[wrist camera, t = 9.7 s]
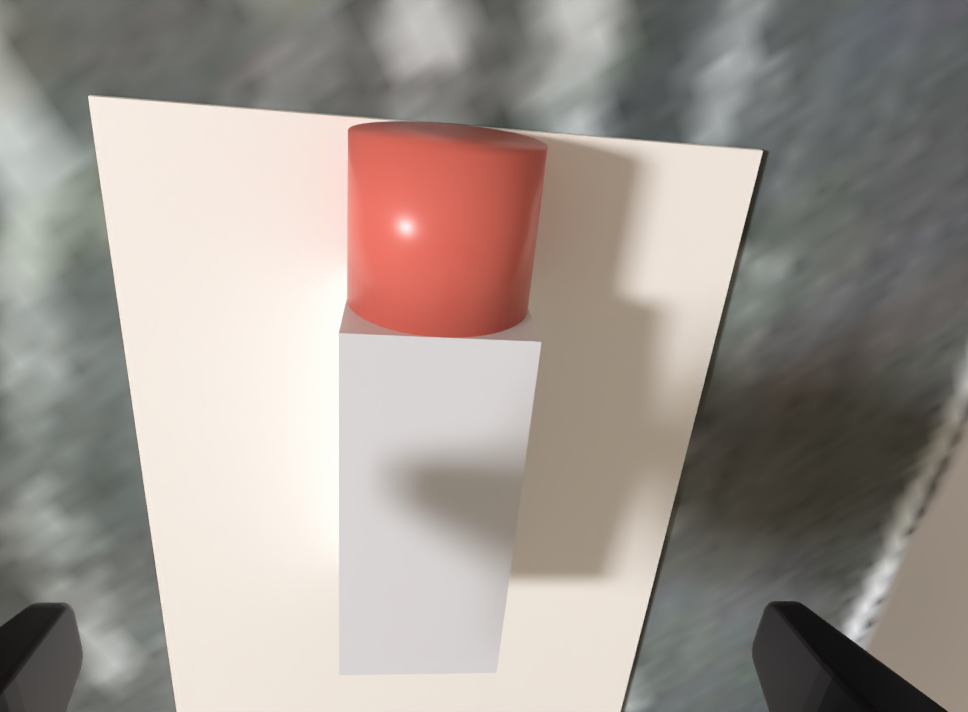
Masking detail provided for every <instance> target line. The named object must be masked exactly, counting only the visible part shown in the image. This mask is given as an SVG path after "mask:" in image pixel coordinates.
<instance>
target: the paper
mask: <svg viewBox="0 0 968 712" xmlns="http://www.w3.org/2000/svg"><path fill="white" fill-rule="evenodd" d="M88 99H89V106H90V113H91V120H92V127H93V134H94V141H95V148H96V155H97V162H98V169H99V176H100V183H101V189H102V196H103V203H104V210H105V217H106V224H107V231H108V238H109V245H110V252H111V259H112V266H113V273H114V280H115V287H116V293H117V300H118V307H119V314H120V321H121V328H122V335H123V342H124V349H125V356H126V363H127V370H128V377H129V384H130V391H131V397H132V404H133V411H134V418H135V425H136V432H137V439H138V446H139V453H140V460H141V467H142V474H143V481H144V488H145V495H146V501H147V508H148V515H149V522H150V529H151V536H152V543H153V550H154V557H155V564H156V571H157V578H158V585H159V592H160V599H161V605H162V612H163V619H164V626H165V633H166V640H167V647H168V654H169V661H170V668H171V675H172V682H173V689H174V696H175V703H176V709H177V712H621V708H622V704H623V700H624V696H625V692H626V688H627V684H628V680H629V676H630V672H631V668H632V664H633V661H634V657H635V653H636V649H637V645H638V641H639V637H640V633H641V629H642V625H643V621H644V617H645V613H646V609H647V605H648V602H649V598H650V594H651V590H652V586H653V582H654V578H655V574H656V570H657V566H658V562H659V558H660V554H661V550H662V546H663V543H664V539H665V535H666V531H667V527H668V523H669V519H670V515H671V511H672V507H673V503H674V499H675V495H676V491H677V487H678V483H679V480H680V476H681V472H682V468H683V464H684V460H685V456H686V452H687V448H688V444H689V440H690V436H691V432H692V428H693V424H694V421H695V417H696V413H697V409H698V405H699V401H700V397H701V393H702V389H703V385H704V381H705V377H706V373H707V369H708V365H709V362H710V358H711V354H712V350H713V346H714V342H715V338H716V334H717V330H718V326H719V322H720V318H721V314H722V310H723V306H724V302H725V299H726V295H727V291H728V287H729V283H730V279H731V275H732V271H733V267H734V263H735V259H736V255H737V251H738V247H739V243H740V240H741V236H742V232H743V228H744V224H745V220H746V216H747V212H748V208H749V204H750V200H751V196H752V192H753V188H754V184H755V181H756V177H757V173H758V169H759V165H760V161H761V157H762V153H763V151H762V150H760V149H751V148H739V147H727V146H715V145H702V144H690V143H678V142H666V141H653V140H641V139H629V138H617V137H604V136H592V135H580V134H568V133H555V132H543V131H531V130H519V129H506V128H494V127H484V128H490V129H497V130H502V131H507V132H512V133H517V134H521V135H525V136H529V137H532V138H535V139H538V140H540V141H542V142H544V143H545V144H547V146H548V151H547V159H546V167H545V175H544V183H543V191H542V199H541V207H540V215H539V223H538V231H537V239H536V247H535V255H534V264H533V272H532V280H531V288H530V296H529V304H528V309H529V312H530V314H531V317H532V319H533V322H534V324H535V327H536V329H537V332H538V334H539V337H540V339H541V349H540V357H539V364H538V371H537V379H536V386H535V394H534V401H533V408H532V416H531V423H530V430H529V438H528V445H527V452H526V460H525V467H524V475H523V482H522V489H521V497H520V504H519V511H518V519H517V526H516V533H515V541H514V548H513V555H512V563H511V570H510V578H509V585H508V592H507V600H506V607H505V614H504V622H503V629H502V636H501V644H500V651H499V659H498V666H497V673H454V674H390V675H339V330H340V325H341V321H342V317H343V312H344V308H345V304H346V300H347V211H348V129H349V128H350V127H352V126H354V125H358V124H363V123H371V122H386V121H408V120H396V119H384V118H371V117H359V116H347V115H335V114H322V113H310V112H298V111H286V110H273V109H261V108H249V107H237V106H224V105H212V104H200V103H188V102H175V101H163V100H151V99H139V98H126V97H114V96H102V95H89V96H88ZM414 122H420V121H414ZM468 126H469V125H468ZM476 127H482V126H476Z"/></svg>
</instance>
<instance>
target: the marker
mask: <svg viewBox="0 0 968 712" xmlns="http://www.w3.org/2000/svg"><path fill="white" fill-rule="evenodd" d="M547 151H548V146H547V144H545V143H544V142H542V141H540V140H538V139H535V138H532V137H529V136H525V135H521V134H517V133H512V132H507V131H502V130H497V129H490V128H484V127H476V126H468V125H459V124H448V123H435V122H414V121H386V122H371V123H363V124H358V125H354V126H352V127H350V128H349V129H348V211H347V300H346V304H345V308H344V312H343V317H342V321H341V325H340V330H339V675H390V674H454V673H497V666H498V659H499V651H500V644H501V636H502V629H503V622H504V614H505V607H506V600H507V592H508V585H509V578H510V570H511V563H512V555H513V548H514V541H515V533H516V526H517V519H518V511H519V504H520V497H521V489H522V482H523V475H524V467H525V460H526V452H527V445H528V438H529V430H530V423H531V416H532V408H533V401H534V394H535V386H536V379H537V371H538V364H539V357H540V349H541V339H540V337H539V334H538V332H537V329H536V327H535V324H534V322H533V319H532V317H531V314H530V312H529V309H528V304H529V296H530V288H531V280H532V272H533V264H534V255H535V247H536V239H537V231H538V223H539V215H540V207H541V199H542V191H543V183H544V175H545V167H546V159H547Z"/></svg>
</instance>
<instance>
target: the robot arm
mask: <svg viewBox="0 0 968 712" xmlns="http://www.w3.org/2000/svg"><path fill="white" fill-rule="evenodd" d="M752 658H753V663H754V666H755V669H756V673H757V676H758V679H759V682H760V685H761V688H762V692H763V695H764V698H765V701H766V704H767V707H768V711H769V712H948V711H946V710H945V709H944V708H942V707H941V706H939V705H938V704H937V703H936V702H934V701H933V700H931V699H930V698H929V697H927V696H926V695H925V694H923V693H922V692H921V691H919V690H918V689H916V688H915V687H914V686H913V685H911V684H910V683H909V682H907V681H906V680H904V679H903V678H902V677H900V676H899V675H898V674H896V673H895V672H894V671H892V670H891V669H890V668H888V667H887V666H886V665H884V664H883V663H882V662H880V661H879V660H877V659H876V658H875V657H873V656H872V655H871V654H869V653H868V652H867V651H865V650H864V649H863V648H861V647H860V646H859V645H857V644H856V643H855V642H853V641H852V640H850V639H849V638H848V637H846V636H845V635H844V634H842V633H841V632H840V631H838V630H837V629H836V628H834V627H833V626H832V625H830V624H829V623H828V622H826V621H825V620H823V619H822V618H821V617H819V616H818V615H817V614H815V613H814V612H813V611H811V610H810V609H809V608H807V607H806V606H804V605H803V604H801V603H799V602H795V601H773V602H770V603H769V604H768V605H767V606H766V607H765V609H764V612H763V615H762V617H761V620H760V623H759V626H758V629H757V632H756V634H755V637H754V640H753V644H752ZM82 660H83V650H82V645H81V640H80V635H79V631H78V626H77V622H76V617H75V612H74V610H73V608H72V606H71V605H70V604H67V603H35V604H32V605H30V606H28V607H27V608H25V609H24V610H23V611H21V612H20V613H19V614H17V615H16V616H14V617H13V618H12V619H10V620H9V621H8V622H6V623H5V624H4V625H2V626H1V627H0V712H67V709H68V706H69V703H70V700H71V697H72V694H73V691H74V688H75V685H76V683H77V680H78V677H79V674H80V670H81V666H82Z"/></svg>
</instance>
